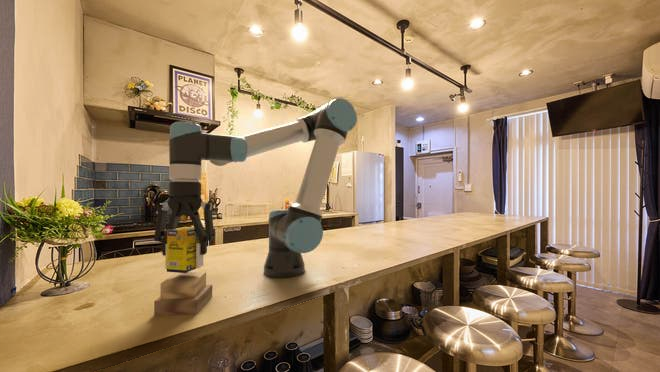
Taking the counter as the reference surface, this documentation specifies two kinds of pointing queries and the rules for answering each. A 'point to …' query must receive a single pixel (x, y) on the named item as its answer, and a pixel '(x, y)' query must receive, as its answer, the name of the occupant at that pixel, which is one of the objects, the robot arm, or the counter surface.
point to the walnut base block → (183, 304)
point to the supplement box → (181, 249)
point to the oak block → (183, 285)
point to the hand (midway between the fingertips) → (184, 267)
